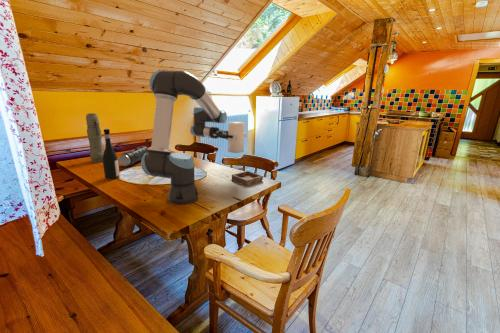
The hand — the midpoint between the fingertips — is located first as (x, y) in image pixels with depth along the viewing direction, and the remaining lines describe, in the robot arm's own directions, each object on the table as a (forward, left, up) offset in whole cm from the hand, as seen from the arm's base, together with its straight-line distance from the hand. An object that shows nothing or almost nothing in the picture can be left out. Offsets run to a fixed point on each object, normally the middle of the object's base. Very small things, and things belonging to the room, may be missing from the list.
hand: (242, 136), depth 157 cm
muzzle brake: (-39, +75, -28) cm, 89 cm away
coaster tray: (+1, -5, -28) cm, 28 cm away
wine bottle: (-62, +50, -28) cm, 85 cm away
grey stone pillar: (-59, +95, -28) cm, 115 cm away
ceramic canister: (-2, +4, -10) cm, 11 cm away
